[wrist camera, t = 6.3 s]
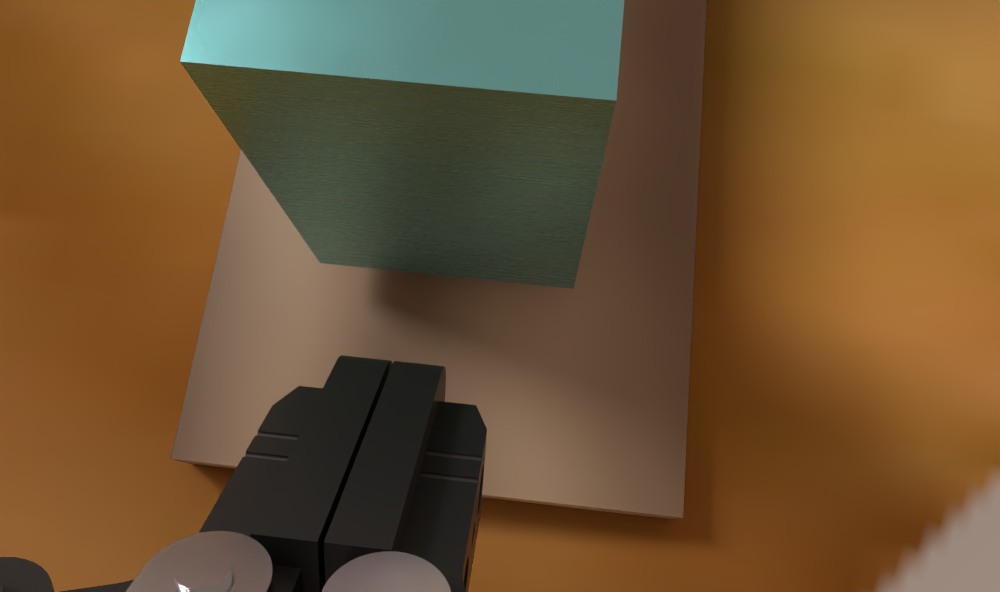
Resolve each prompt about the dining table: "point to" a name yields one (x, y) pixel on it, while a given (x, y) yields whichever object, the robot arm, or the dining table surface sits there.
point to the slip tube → (421, 125)
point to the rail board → (498, 312)
